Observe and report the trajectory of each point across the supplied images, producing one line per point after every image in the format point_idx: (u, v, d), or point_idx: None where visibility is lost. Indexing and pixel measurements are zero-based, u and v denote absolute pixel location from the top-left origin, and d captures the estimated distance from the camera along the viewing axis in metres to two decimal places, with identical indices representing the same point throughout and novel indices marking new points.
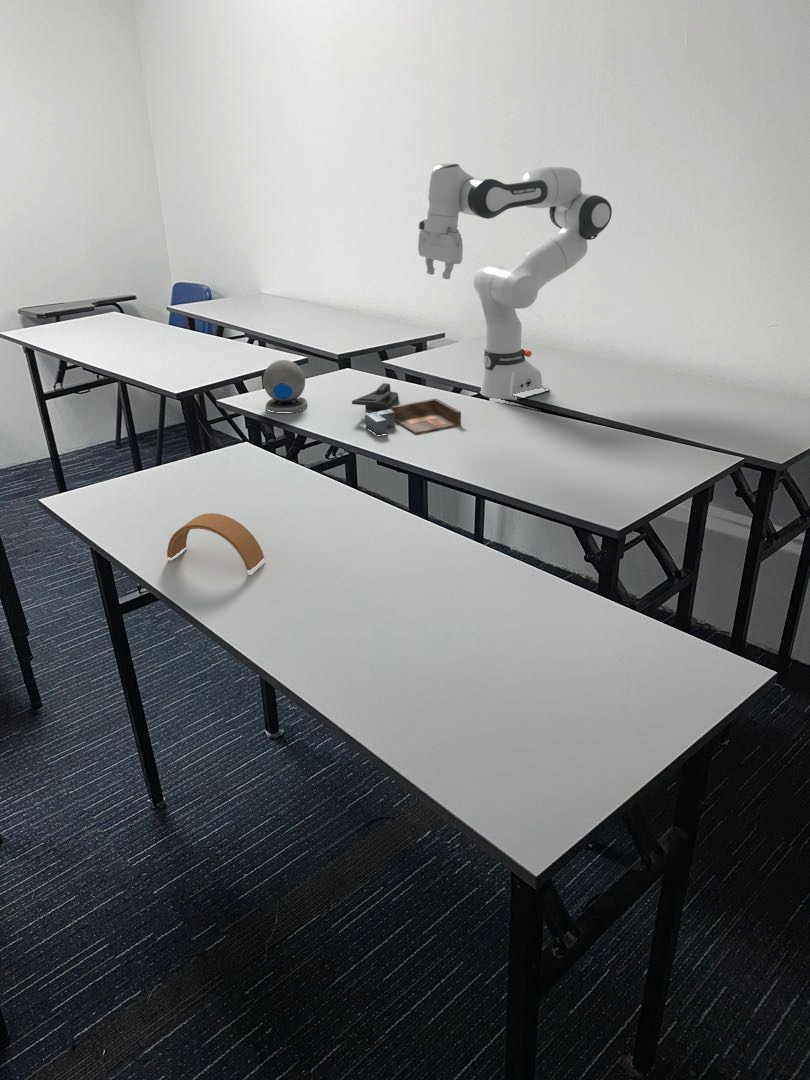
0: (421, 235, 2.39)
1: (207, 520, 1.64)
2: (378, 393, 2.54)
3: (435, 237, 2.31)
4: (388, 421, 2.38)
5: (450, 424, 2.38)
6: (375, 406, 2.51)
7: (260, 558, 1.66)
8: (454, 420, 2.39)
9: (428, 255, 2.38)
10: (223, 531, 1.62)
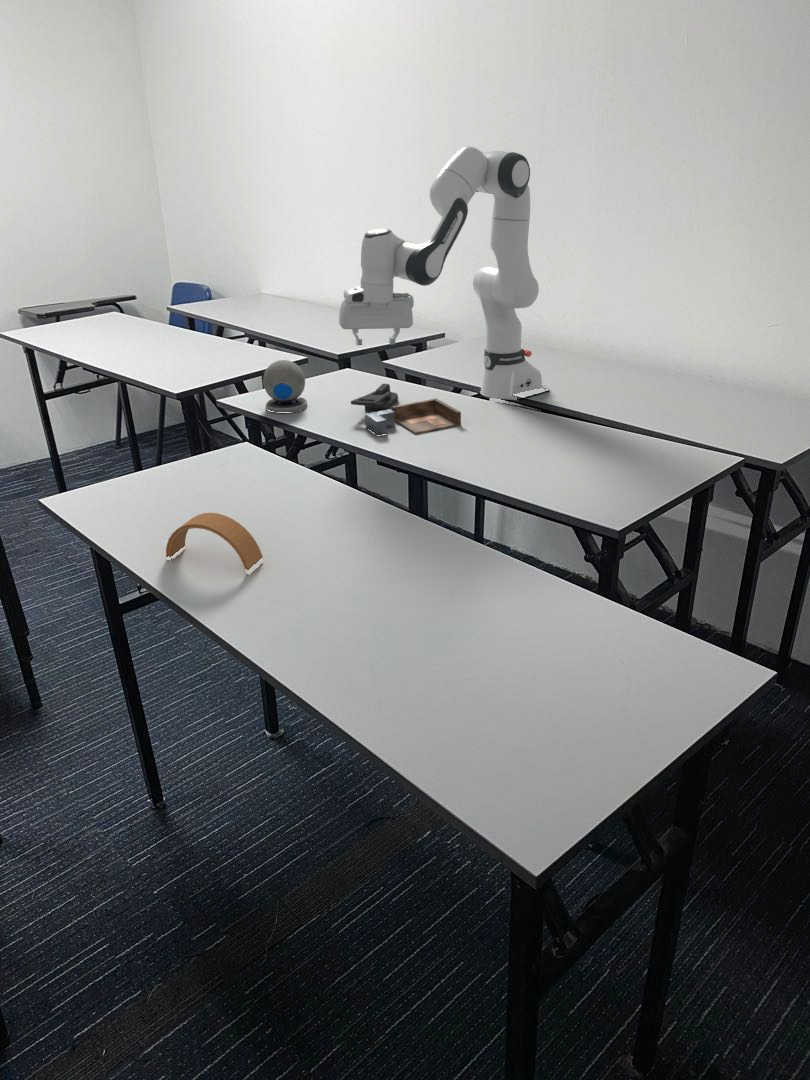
0: (350, 308, 2.18)
1: (205, 520, 1.64)
2: (377, 393, 2.54)
3: (384, 306, 2.19)
4: (388, 421, 2.38)
5: (450, 424, 2.38)
6: (374, 406, 2.50)
7: (258, 557, 1.66)
8: (454, 420, 2.39)
9: (365, 326, 2.22)
10: (222, 531, 1.62)
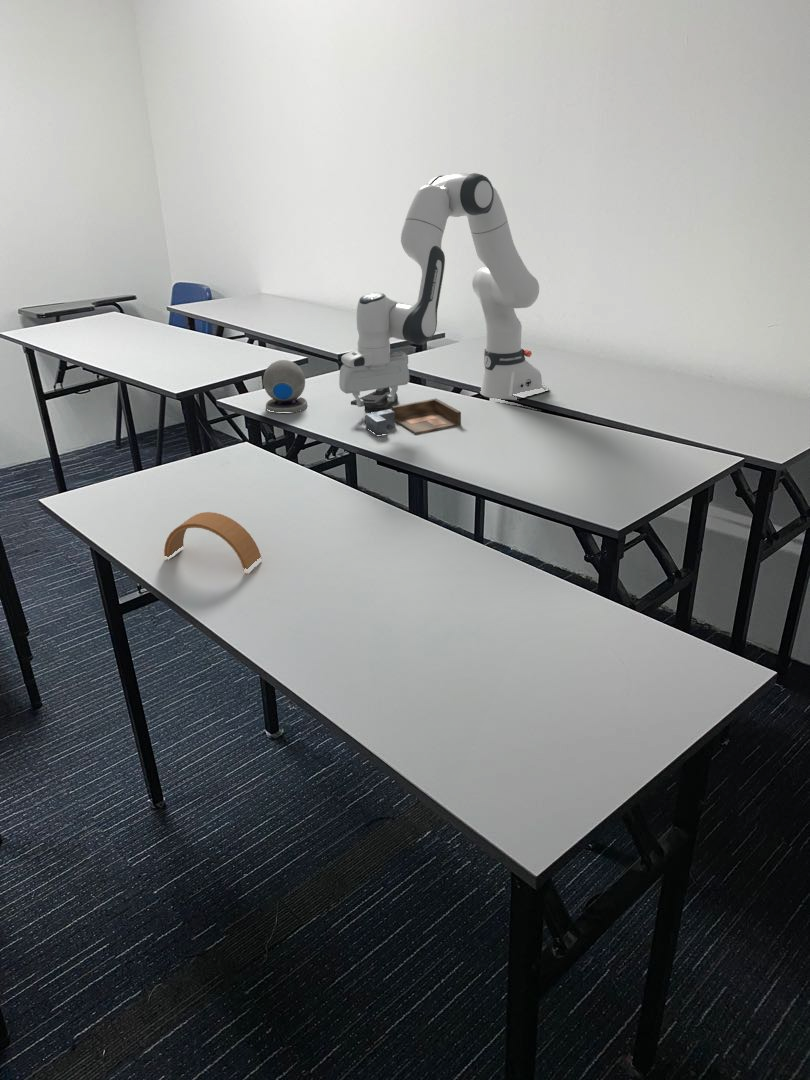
0: (352, 372, 2.21)
1: (204, 519, 1.65)
2: (377, 394, 2.54)
3: (383, 367, 2.24)
4: (388, 421, 2.38)
5: (450, 424, 2.38)
6: (374, 406, 2.50)
7: (257, 557, 1.67)
8: (454, 420, 2.39)
9: (366, 388, 2.25)
10: (220, 530, 1.62)
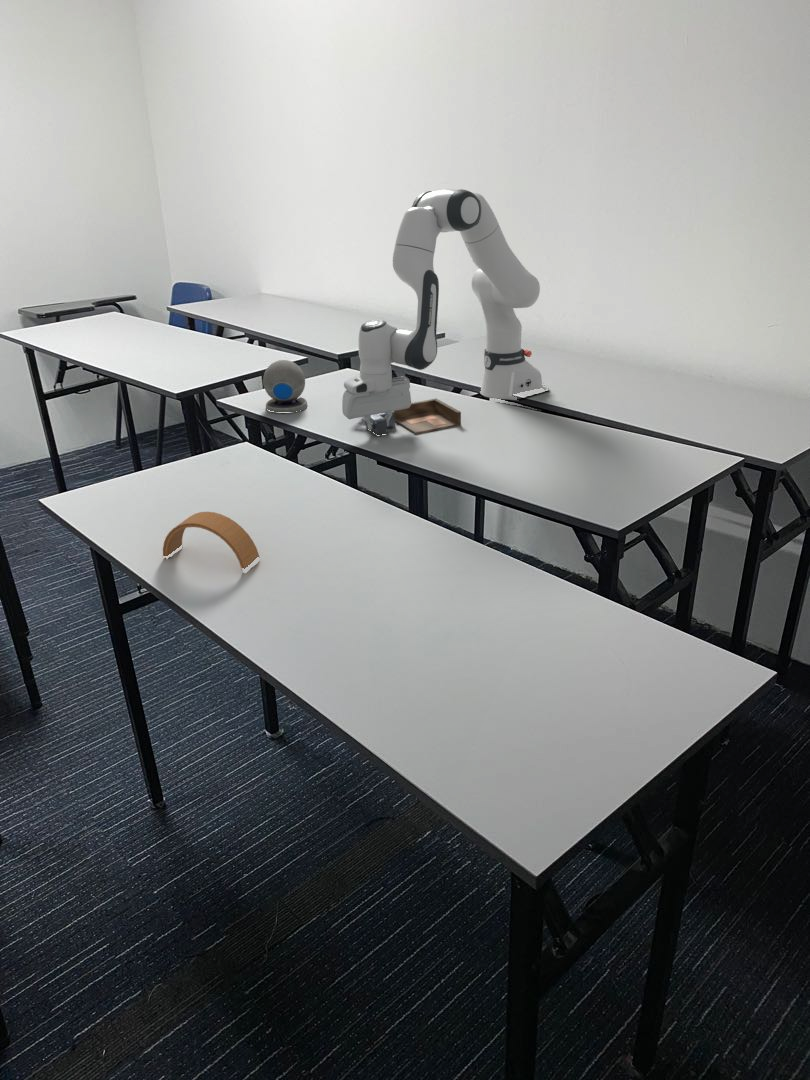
0: (354, 398, 2.24)
1: (202, 518, 1.65)
2: None
3: (385, 392, 2.27)
4: None
5: (450, 424, 2.38)
6: None
7: (255, 556, 1.67)
8: (454, 420, 2.39)
9: (368, 413, 2.29)
10: (218, 530, 1.62)
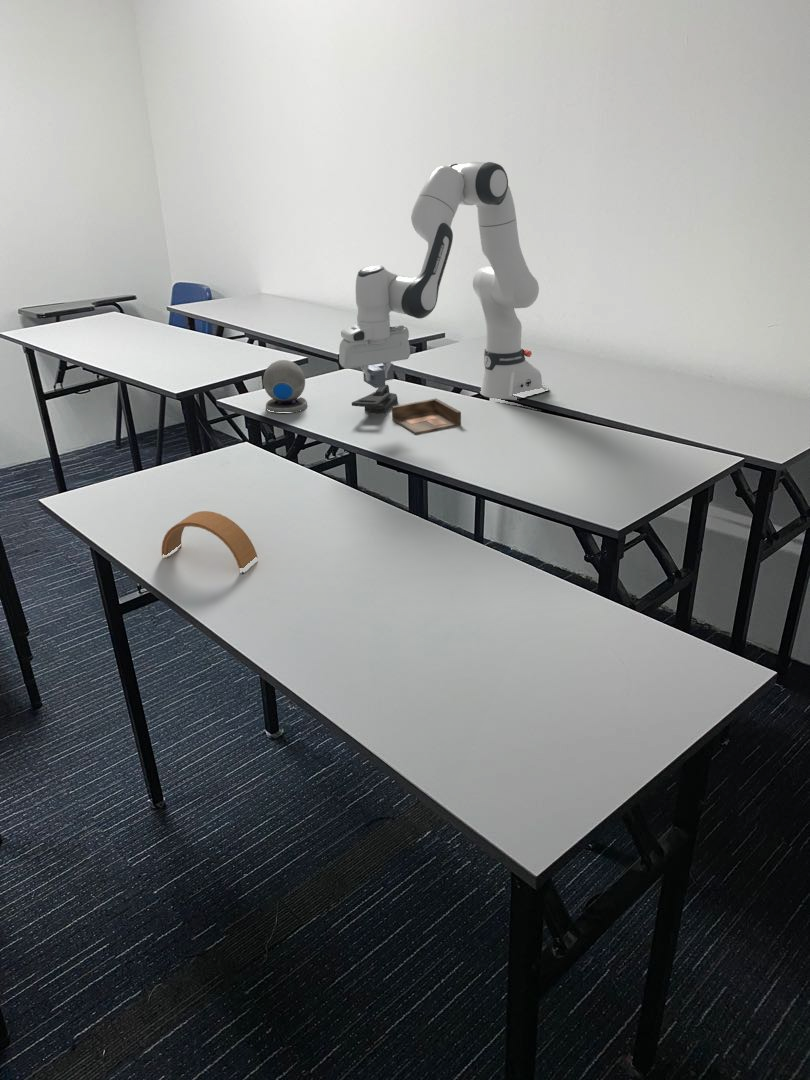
0: (351, 347, 2.18)
1: (200, 518, 1.65)
2: (377, 394, 2.53)
3: (383, 341, 2.21)
4: None
5: (450, 424, 2.38)
6: (374, 407, 2.49)
7: (253, 556, 1.67)
8: (454, 420, 2.39)
9: (366, 363, 2.22)
10: (216, 529, 1.63)
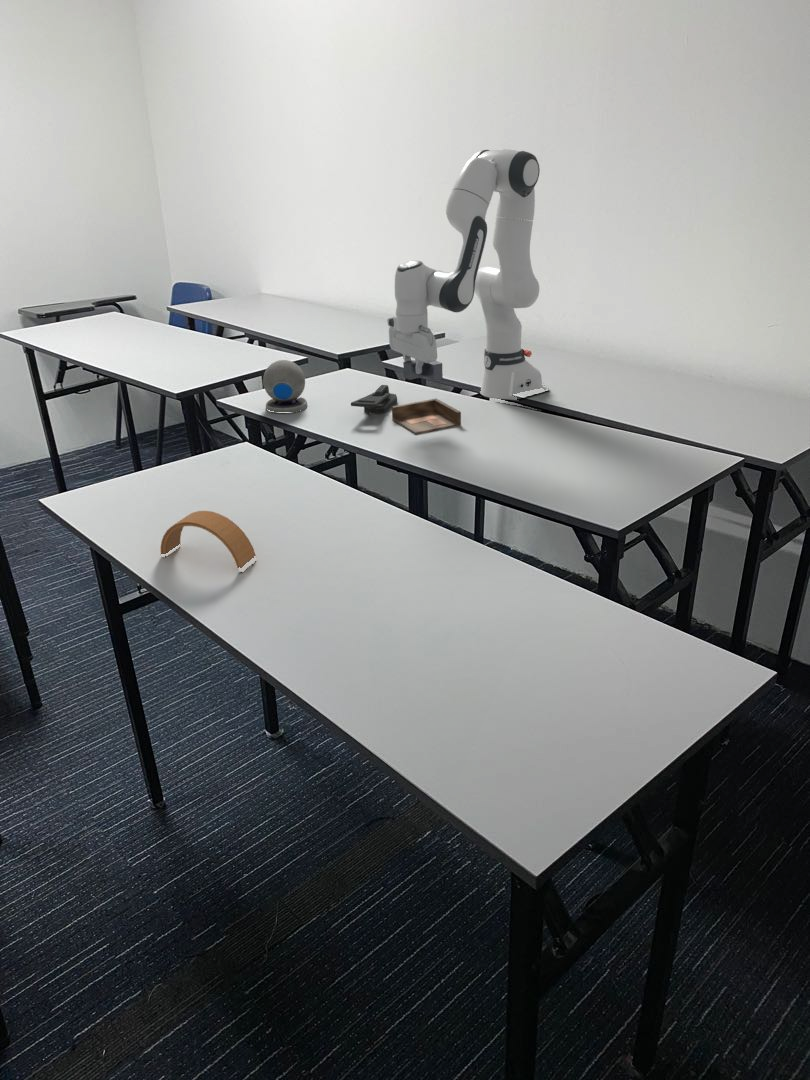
0: (391, 331, 2.34)
1: (199, 518, 1.65)
2: (377, 395, 2.53)
3: (407, 336, 2.27)
4: (429, 372, 2.32)
5: (450, 424, 2.38)
6: (374, 408, 2.49)
7: (251, 556, 1.67)
8: (454, 420, 2.39)
9: (401, 351, 2.34)
10: (214, 529, 1.63)
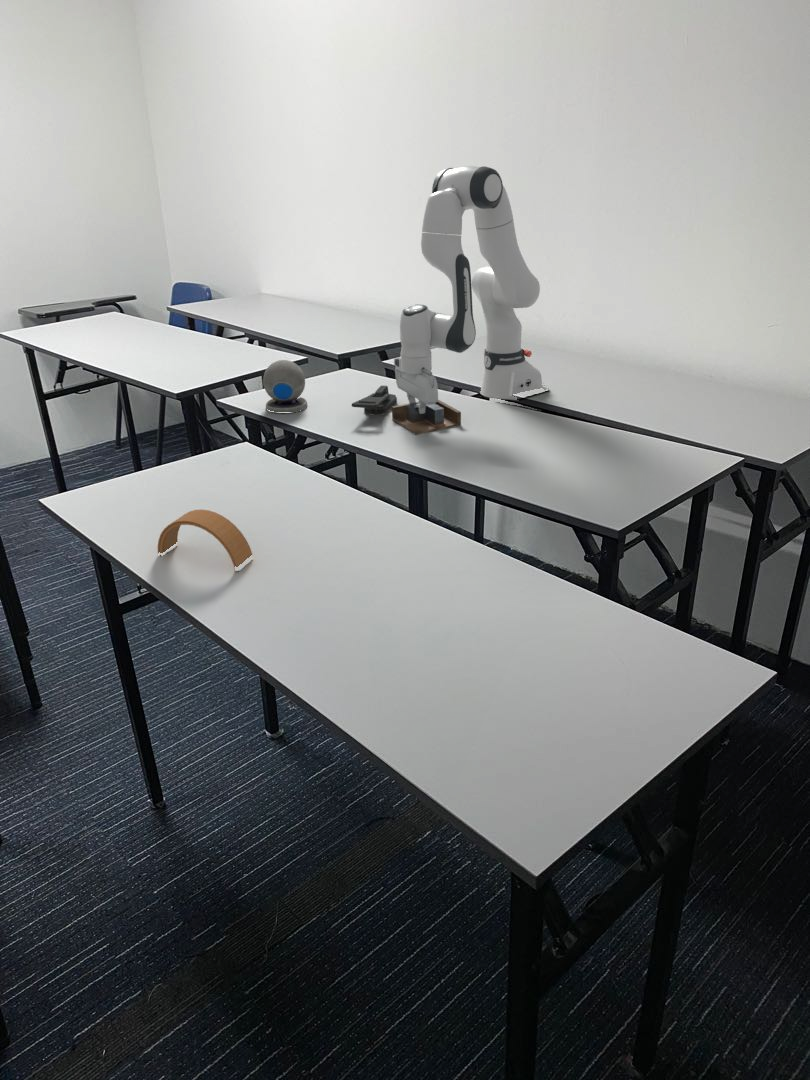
0: (397, 370, 2.41)
1: (196, 516, 1.66)
2: (377, 395, 2.52)
3: (410, 377, 2.33)
4: (431, 416, 2.38)
5: (450, 424, 2.38)
6: (374, 408, 2.49)
7: (248, 555, 1.68)
8: (454, 420, 2.39)
9: (406, 390, 2.40)
10: (211, 528, 1.63)
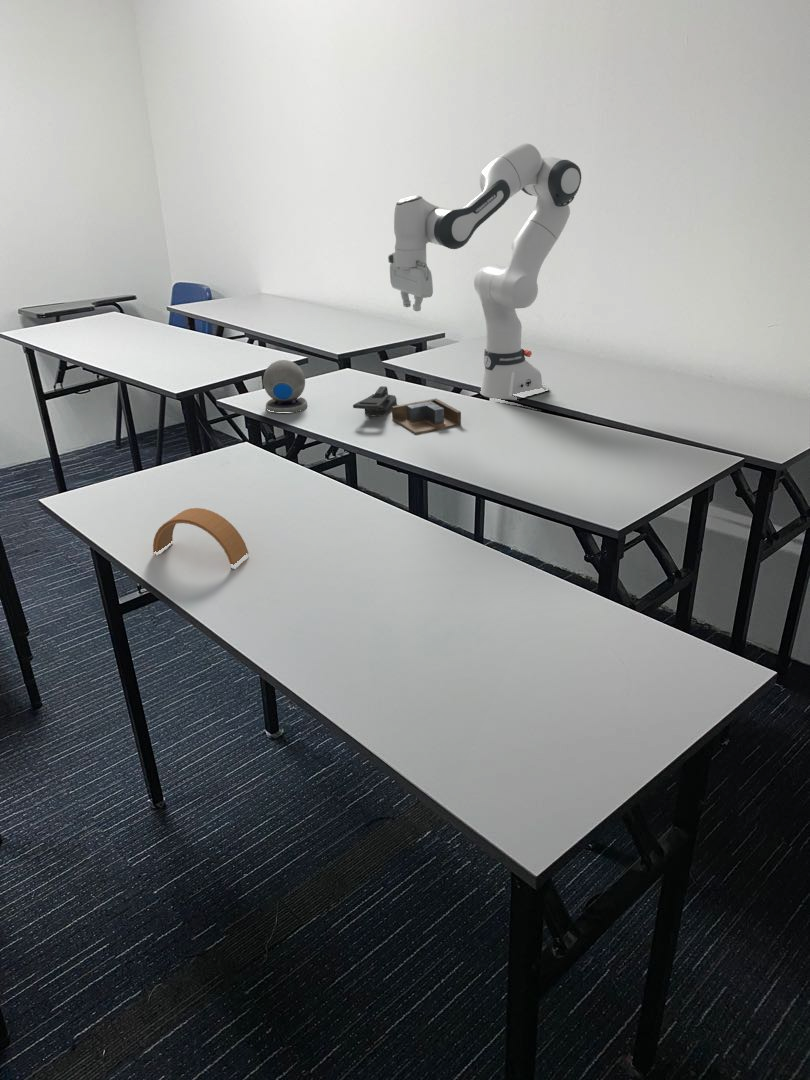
0: (392, 268, 2.37)
1: (191, 515, 1.66)
2: (377, 396, 2.51)
3: (404, 271, 2.29)
4: (431, 416, 2.38)
5: (450, 424, 2.38)
6: (375, 409, 2.48)
7: (244, 552, 1.69)
8: (454, 420, 2.39)
9: (400, 288, 2.36)
10: (207, 526, 1.64)
